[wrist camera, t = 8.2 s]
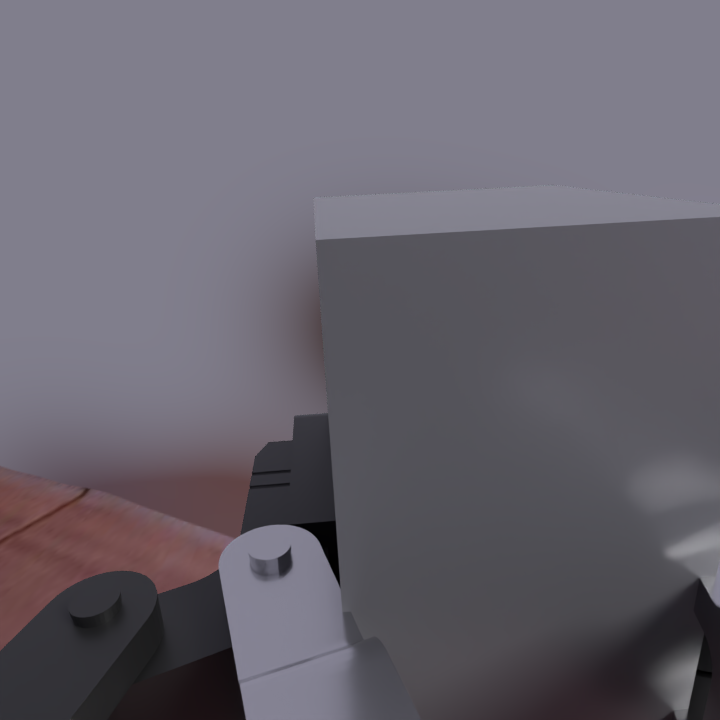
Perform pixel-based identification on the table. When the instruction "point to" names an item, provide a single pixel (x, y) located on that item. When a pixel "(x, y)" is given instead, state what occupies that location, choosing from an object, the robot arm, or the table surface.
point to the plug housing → (525, 442)
